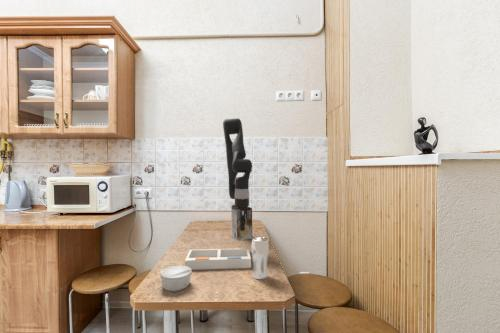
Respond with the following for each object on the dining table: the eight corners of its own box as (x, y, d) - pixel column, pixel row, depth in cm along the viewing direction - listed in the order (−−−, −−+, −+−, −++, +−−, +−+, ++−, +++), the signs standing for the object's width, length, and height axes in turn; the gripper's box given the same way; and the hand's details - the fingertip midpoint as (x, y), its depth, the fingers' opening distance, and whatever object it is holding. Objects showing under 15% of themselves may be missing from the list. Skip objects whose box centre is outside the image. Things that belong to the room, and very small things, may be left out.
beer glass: (250, 273, 102) (250, 236, 103) (267, 272, 103) (267, 236, 103) (252, 280, 95) (252, 241, 96) (269, 279, 96) (270, 241, 96)
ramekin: (183, 294, 85) (183, 278, 85) (153, 291, 87) (154, 276, 87) (196, 280, 96) (196, 266, 96) (169, 277, 98) (169, 264, 98)
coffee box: (247, 235, 134) (247, 206, 134) (252, 238, 128) (252, 207, 128) (231, 237, 130) (231, 207, 130) (236, 241, 124) (236, 209, 124)
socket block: (190, 257, 119) (190, 249, 120) (248, 256, 122) (248, 247, 122) (184, 270, 105) (184, 259, 105) (250, 267, 108) (251, 258, 108)
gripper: (234, 195, 136) (234, 225, 136) (235, 199, 121) (235, 232, 121) (247, 195, 136) (247, 224, 136) (250, 198, 122) (250, 231, 122)
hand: (241, 228), depth 129 cm, fingers closed on coffee box, 8 cm apart
